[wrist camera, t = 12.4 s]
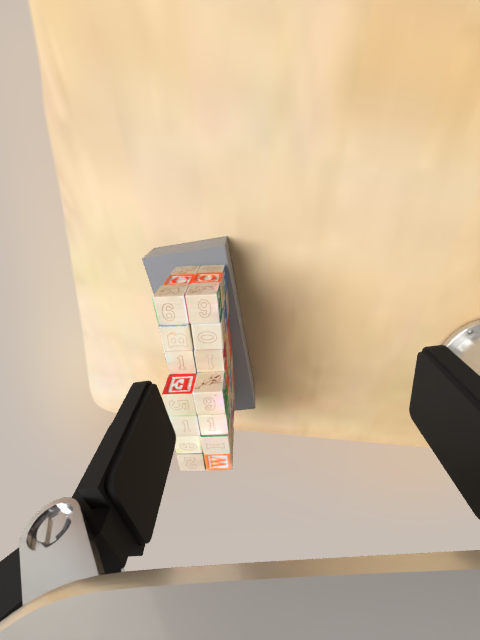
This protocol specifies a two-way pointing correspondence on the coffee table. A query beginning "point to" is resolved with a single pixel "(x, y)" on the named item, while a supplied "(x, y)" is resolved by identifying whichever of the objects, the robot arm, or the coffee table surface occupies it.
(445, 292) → the coffee table surface
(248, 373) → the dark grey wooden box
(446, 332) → the coffee table surface
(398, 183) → the coffee table surface
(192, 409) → the stack of blocks
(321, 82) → the coffee table surface
